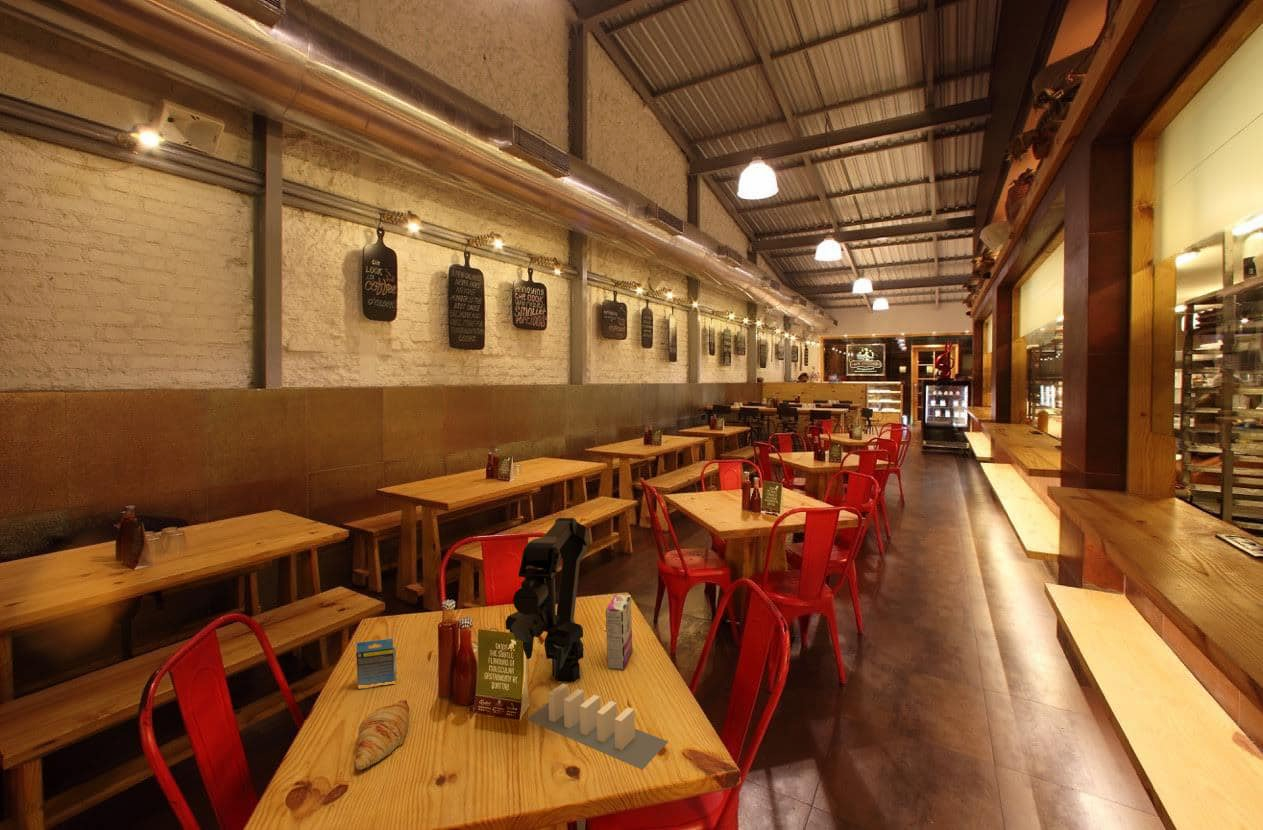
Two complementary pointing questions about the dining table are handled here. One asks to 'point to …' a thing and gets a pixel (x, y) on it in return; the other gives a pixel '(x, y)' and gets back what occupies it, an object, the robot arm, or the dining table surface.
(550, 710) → the domino
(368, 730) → the croissant
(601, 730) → the domino
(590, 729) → the domino
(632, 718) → the domino
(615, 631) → the candy bar box
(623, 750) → the metal plate
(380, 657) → the label tape box
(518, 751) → the dining table surface
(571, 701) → the domino
